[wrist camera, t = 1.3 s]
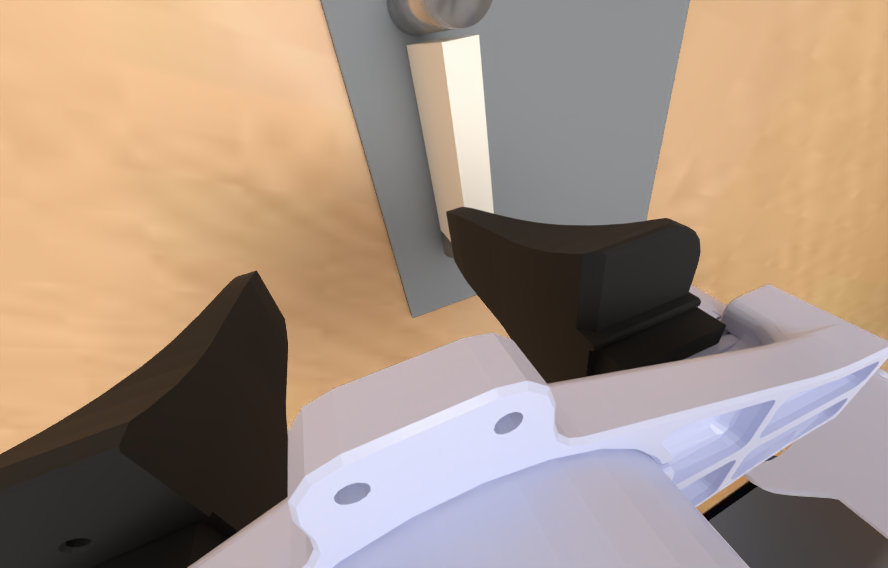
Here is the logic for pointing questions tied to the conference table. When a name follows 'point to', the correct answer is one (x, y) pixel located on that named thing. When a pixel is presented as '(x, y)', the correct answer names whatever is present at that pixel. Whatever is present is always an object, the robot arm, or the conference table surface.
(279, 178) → the conference table surface
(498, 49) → the mat
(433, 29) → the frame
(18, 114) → the conference table surface
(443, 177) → the block
